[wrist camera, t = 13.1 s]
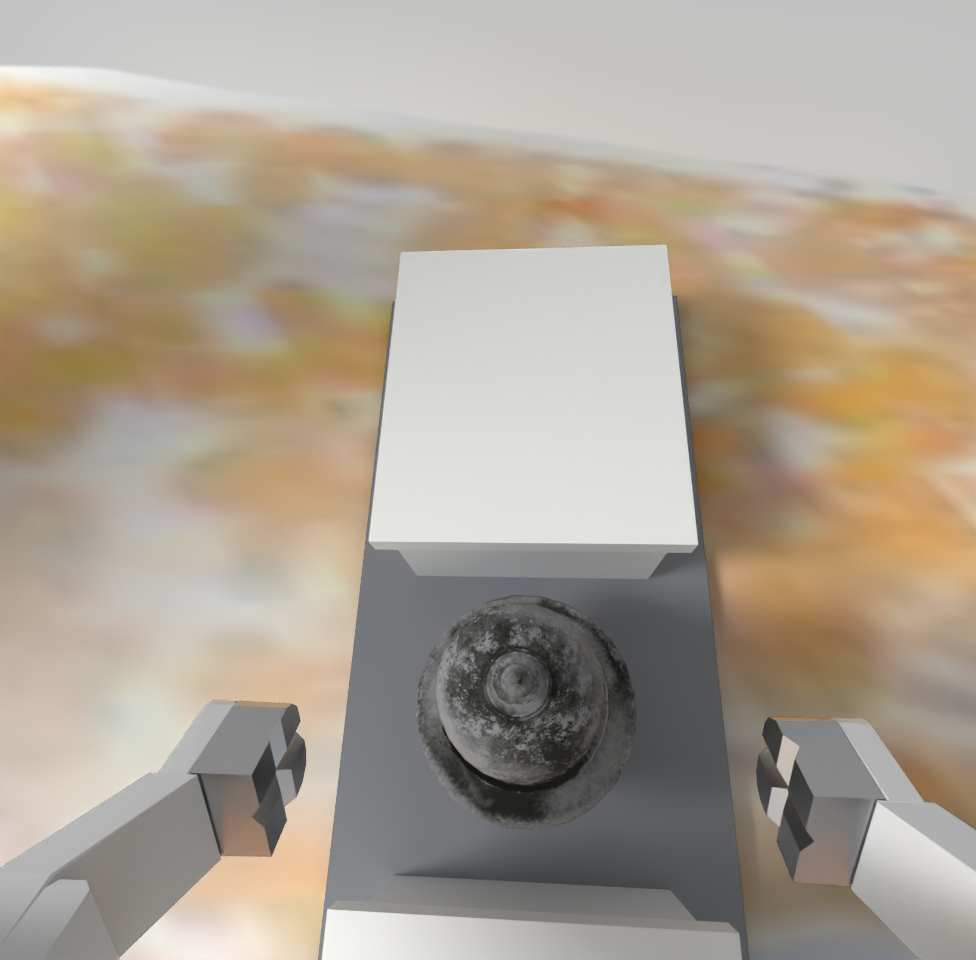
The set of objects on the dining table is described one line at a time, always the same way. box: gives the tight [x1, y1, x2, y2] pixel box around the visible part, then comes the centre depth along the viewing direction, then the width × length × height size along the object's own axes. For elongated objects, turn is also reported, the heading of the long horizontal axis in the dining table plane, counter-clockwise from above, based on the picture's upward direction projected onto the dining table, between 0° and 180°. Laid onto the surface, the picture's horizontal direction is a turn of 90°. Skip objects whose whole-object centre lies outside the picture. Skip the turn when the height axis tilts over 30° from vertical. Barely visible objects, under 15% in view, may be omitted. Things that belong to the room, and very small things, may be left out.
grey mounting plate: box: [318, 245, 749, 960], centre depth 17 cm, size 12×33×5 cm, turn 178°
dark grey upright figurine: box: [416, 595, 636, 830], centre depth 14 cm, size 6×6×12 cm
